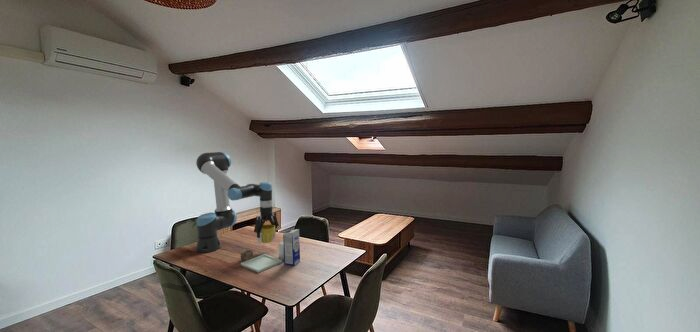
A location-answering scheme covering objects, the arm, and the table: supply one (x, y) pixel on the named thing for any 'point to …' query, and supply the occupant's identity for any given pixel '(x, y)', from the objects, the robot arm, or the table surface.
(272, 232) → the plant pot
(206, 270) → the table surface
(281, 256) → the white rounded capsule
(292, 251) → the milk carton
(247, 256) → the walnut block
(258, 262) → the tray
